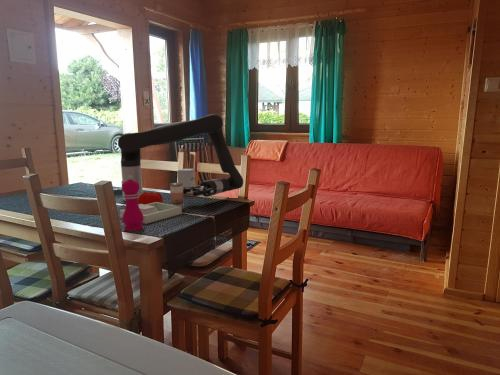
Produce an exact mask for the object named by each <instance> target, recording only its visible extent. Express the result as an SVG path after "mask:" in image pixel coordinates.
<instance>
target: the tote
mask: <svg viewBox="0 0 500 375" xmlns="http://www.w3.org/2000/svg"><path fill="white" fill-rule="evenodd" d="M145 205H150V206H155V208H157V212H156V213H152V214H148V215H143V218H144V220H143V222H142V223H141V224H146V225H147V224H150V223H153V222H157V221H160V220H164V219H168V218H172V217H175V216H179V215H182V214H183V211H182V208H181V206H176V205H171V203H169V204H168V203H164V202H163V203H159V202H154V203H150V204H145ZM124 211H125V209H119V214H120V215H119V217H120V218H121V219H122V217H123V214H124Z"/></svg>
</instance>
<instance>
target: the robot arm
mask: <svg viewBox="0 0 500 375" xmlns="http://www.w3.org/2000/svg"><path fill="white" fill-rule="evenodd" d="M223 124H224V121H223V119H222V117H221V116H220V115H218V114H216V113H212V114H211V113H210V114H207V115H204V116H203V117H199V118H196V119H191V120H183V121H177V122H171V123H166V124H162V125H160V126H159V125H158V126H157V127H156V126H155V127H154V128H151V129H148V130H143V131H140V132H138V131H137V132H127V133H122V134H121V136H120V137H119V138H118V140H117V144H118V145H117V146H118V147H119V149H120V154H121V155H120V156H121V157H120V168H121V185H122V184H123V183H124V182H125V181H127V180H128V179H127V177H128V176H132V177H133V179H132V180H135V181H137V182H138V183H139V187H140V188H139V191H138V192H137V193H138V196H140V195H141V194H142V193H144V192H143V178H142V177H143V176H142V166H141V159H142V158H141V157H142V156H141V149H143V148H146V147H151V146H157V145H158V146H160V145H166V144H168V145H169V144H171V143H176V142H180V141H182V140H183V141H184V140H186V139H189V138H191V137H194V136H196V135H201V134H208V136H209V138H210V140H211V142H212V145H213V147H214V151H215V154H216V157H217V161H218V163H219V167H220V170H221V171H222V173H224V174H228V175H229V176H227V177H223V178H222V177H220V178H216V179H215V178H214V179H213V178H212V179H208V180H203V181H201V183H200V184H198V185H195V186H188V187H184V189H183V195H184V194H191V195H192V196H193V197H198V196H202V197H205V198H209V197H212V196H215V195H219V194H221V193H225V192H230V191H233V190H238V189H241V188H242V187H243V186H244V178H243V177H242V175H241V173H240V172H239V170H238V168H237V167H236V165H235V162H234V160H233V157H232V154H231V152H230V150H229V149H230V148H229V147H228V145H227V143H226V140H225V137H224V133H223ZM192 191H193V192H192ZM121 192H122V194H121V195H122V200H123V202H126V200H125V198H124V194H125V193H124V192H123V191H122V190H121ZM138 198H139V197H138Z"/></svg>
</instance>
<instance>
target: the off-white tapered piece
mask: <svg viewBox="0 0 500 375" xmlns="http://www.w3.org/2000/svg"><path fill="white" fill-rule="evenodd" d="M138 206H139V208H140V210H141V212H142V214H143V215H148V214H152V213H156V212H157V208H155V206H150V205H144V204H138Z"/></svg>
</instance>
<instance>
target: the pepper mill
mask: <svg viewBox="0 0 500 375" xmlns="http://www.w3.org/2000/svg"><path fill="white" fill-rule="evenodd" d="M127 179H128V180H127V181H125V182H124V183H123V184H122V183H121V192H122V191H123V192H124V193H125V194H124V198H125V200H126V201H125V211H124V214H123V217H122V218H121V219H122V223H123V224H124V227H123V228H124V231H128V232H131V231H139V230H141V229H143V228H144V225H143V223H142V222H143V220H144V218H143V214H142V212H141V210H140V208H139V206H138V197H139V196H138V193H137V192H138V191H139V188H140V187H139V183H138V182H137V181H135V180H132V179H133V177H132V176H128V177H127Z"/></svg>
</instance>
